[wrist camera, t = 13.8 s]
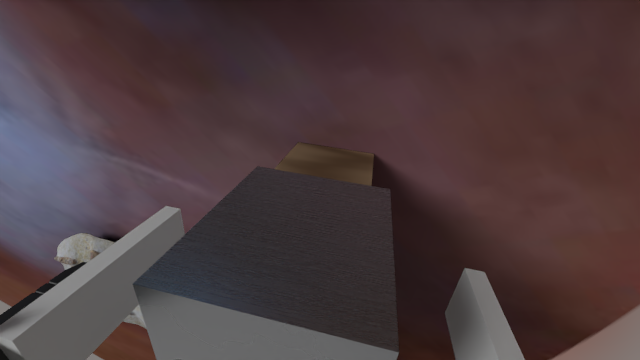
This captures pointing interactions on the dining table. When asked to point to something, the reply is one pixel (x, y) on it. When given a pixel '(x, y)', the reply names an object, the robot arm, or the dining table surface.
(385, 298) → the brushed steel cube
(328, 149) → the tan wooden beam joint
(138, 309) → the stone
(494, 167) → the dining table surface
